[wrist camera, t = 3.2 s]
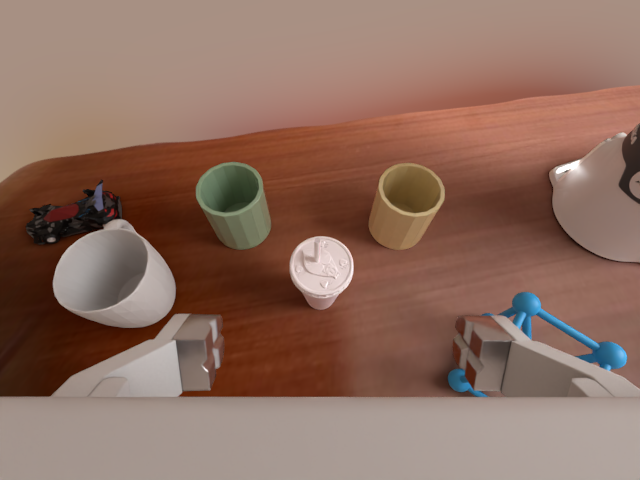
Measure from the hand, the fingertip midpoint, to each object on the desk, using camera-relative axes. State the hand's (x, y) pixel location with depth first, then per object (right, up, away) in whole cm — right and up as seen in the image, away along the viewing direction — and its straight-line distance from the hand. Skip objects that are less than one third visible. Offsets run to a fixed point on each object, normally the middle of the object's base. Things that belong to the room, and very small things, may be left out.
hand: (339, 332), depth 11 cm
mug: (-22, -3, +30) cm, 37 cm away
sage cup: (-11, +5, +34) cm, 36 cm away
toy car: (-34, +6, +34) cm, 48 cm away
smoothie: (-1, -4, +30) cm, 30 cm away
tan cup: (+10, +5, +34) cm, 36 cm away
